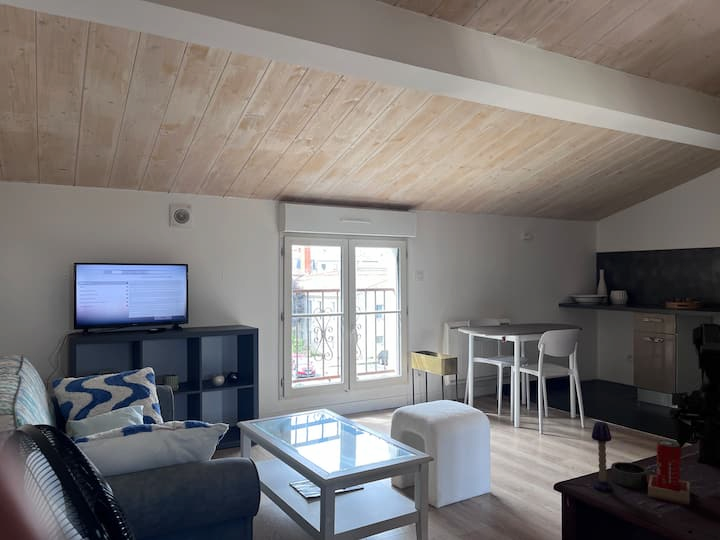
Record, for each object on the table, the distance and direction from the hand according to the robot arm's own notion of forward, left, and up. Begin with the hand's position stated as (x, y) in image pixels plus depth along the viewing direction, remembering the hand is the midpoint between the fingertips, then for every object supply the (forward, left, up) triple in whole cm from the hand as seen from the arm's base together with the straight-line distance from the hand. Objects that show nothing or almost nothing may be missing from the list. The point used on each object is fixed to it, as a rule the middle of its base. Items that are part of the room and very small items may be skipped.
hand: (690, 449), depth 139 cm
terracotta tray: (+7, -4, -10) cm, 13 cm away
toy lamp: (+12, -19, -10) cm, 25 cm away
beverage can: (+7, -5, -10) cm, 13 cm away
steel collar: (+3, -14, -10) cm, 17 cm away
